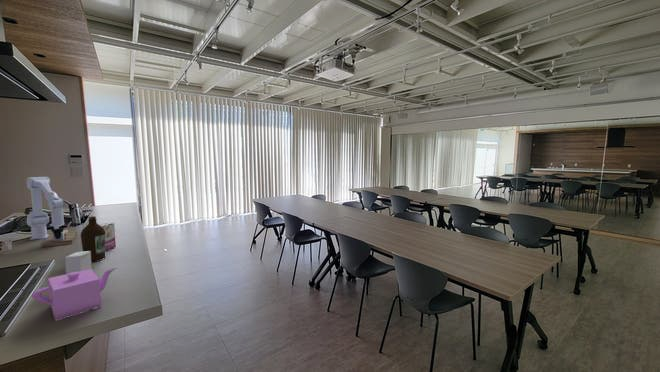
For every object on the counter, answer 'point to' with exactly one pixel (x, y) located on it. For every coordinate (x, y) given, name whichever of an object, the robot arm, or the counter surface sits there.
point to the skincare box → (78, 262)
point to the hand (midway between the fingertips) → (59, 237)
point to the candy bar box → (109, 235)
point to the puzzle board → (68, 240)
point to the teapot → (73, 292)
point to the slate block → (60, 238)
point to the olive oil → (94, 239)
